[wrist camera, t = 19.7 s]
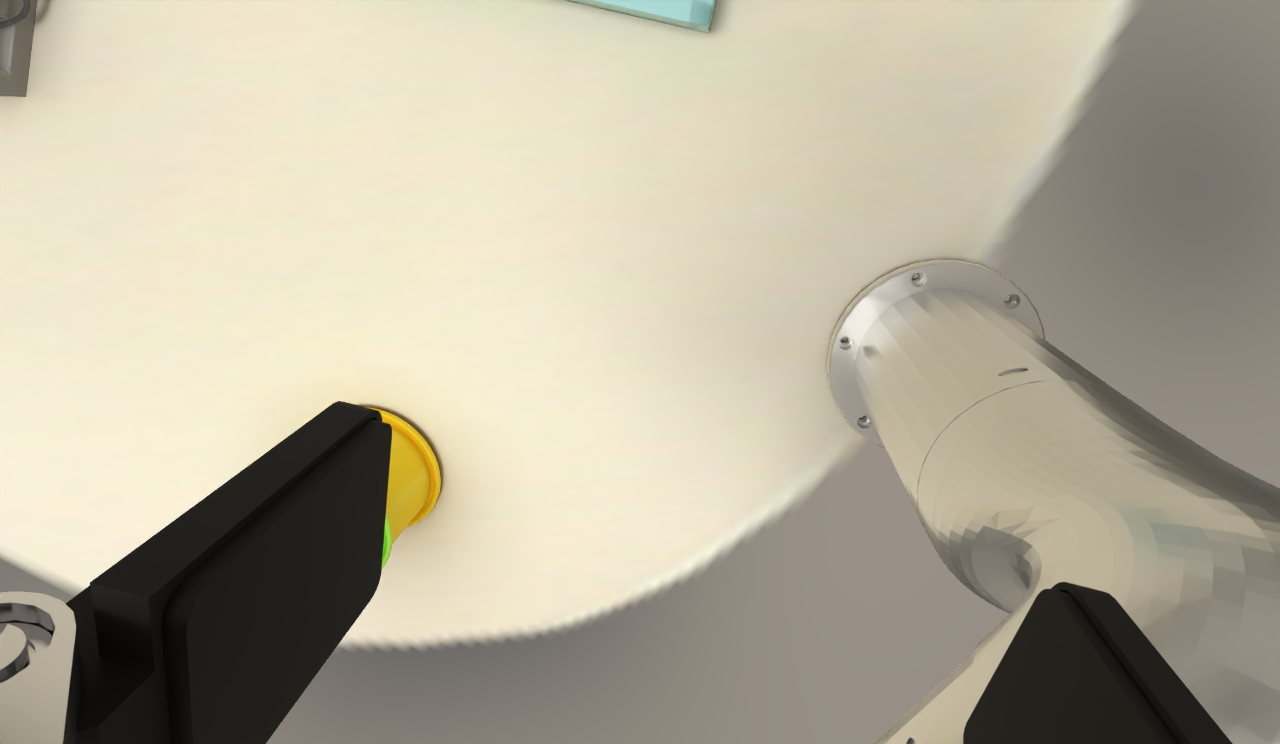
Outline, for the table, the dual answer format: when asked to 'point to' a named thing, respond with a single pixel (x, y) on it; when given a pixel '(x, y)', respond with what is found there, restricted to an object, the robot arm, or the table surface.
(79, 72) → the table surface
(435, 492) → the stacking cups
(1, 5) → the grey portable radio
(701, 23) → the teal tray
